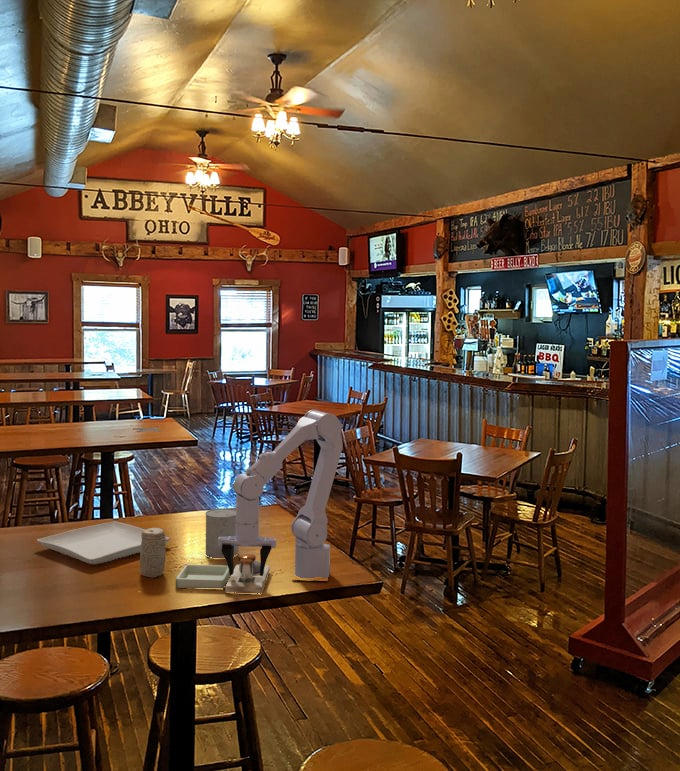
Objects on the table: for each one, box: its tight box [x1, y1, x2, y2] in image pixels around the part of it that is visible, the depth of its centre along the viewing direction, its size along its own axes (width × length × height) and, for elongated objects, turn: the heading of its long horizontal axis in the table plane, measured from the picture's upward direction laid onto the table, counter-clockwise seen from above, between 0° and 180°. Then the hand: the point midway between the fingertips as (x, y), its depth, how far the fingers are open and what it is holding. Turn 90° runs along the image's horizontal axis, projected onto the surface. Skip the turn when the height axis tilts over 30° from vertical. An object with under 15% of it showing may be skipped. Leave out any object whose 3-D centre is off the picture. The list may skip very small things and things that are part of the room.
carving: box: [139, 527, 167, 579], centre depth 193 cm, size 6×8×12 cm
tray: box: [175, 563, 230, 590], centre depth 189 cm, size 12×11×2 cm
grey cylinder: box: [205, 507, 240, 558], centre depth 211 cm, size 10×10×12 cm
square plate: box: [36, 520, 171, 565], centre depth 214 cm, size 27×27×4 cm
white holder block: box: [224, 560, 271, 594], centre depth 189 cm, size 9×16×5 cm, turn 178°
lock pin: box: [237, 553, 257, 583], centre depth 186 cm, size 4×4×8 cm
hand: (246, 574), depth 186 cm, fingers open, 7 cm apart
